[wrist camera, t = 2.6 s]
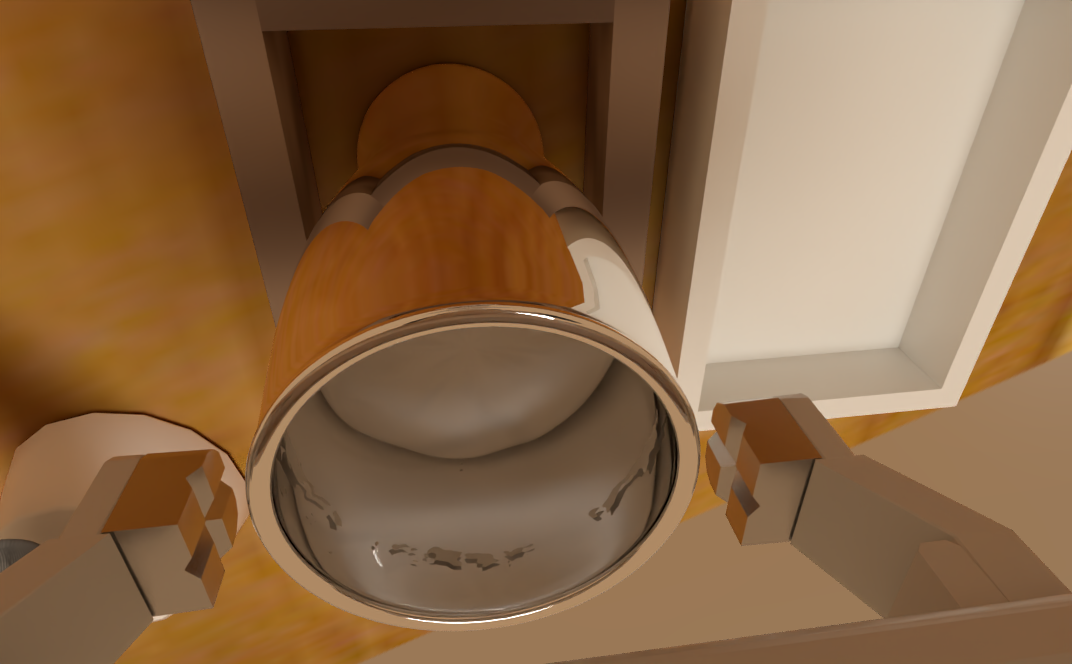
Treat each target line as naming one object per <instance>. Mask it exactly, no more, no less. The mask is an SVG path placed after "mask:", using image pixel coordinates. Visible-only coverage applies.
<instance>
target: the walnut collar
mask: <svg viewBox="0 0 1072 664" xmlns="http://www.w3.org/2000/svg"><path fill="white" fill-rule="evenodd" d="M190 1H191V5H192V9H193V12H194V16H195V20H196V24H197V28H198V32H199V35H200V39H201V43H202V47H203V51H204V54H205V58H206V62H207V66H208V70H209V74H210V77H211V81H212V85H213V89H214V93H215V96H216V100H217V104H218V108H219V112H220V116H221V119H222V123H223V127H224V131H225V135H226V138H227V142H228V146H229V150H230V154H231V158H232V161H233V165H234V169H235V173H236V177H237V181H238V184H239V188H240V192H241V196H242V200H243V203H244V207H245V211H246V215H247V219H248V223H249V226H250V230H251V234H252V238H253V242H254V245H255V249H256V253H257V257H258V261H259V265H260V268H261V272H262V276H263V280H264V284H265V287H266V291H267V295H268V299H269V303H270V307H271V310H272V314H273V318H274V322H275V326H276V328H277V324H278V320H279V317H280V313H281V310H282V306H283V303H284V299H285V296H286V292H287V289H288V286H289V283H290V280H291V277H292V275H293V272H294V270H295V268H296V265H297V263H298V261H299V258H300V256H301V254H302V251H303V249H304V247H305V244H306V242H307V240H308V238H309V236H310V234H311V232H312V230H313V228H314V226H315V225H316V223H317V222H318V220H319V219H320V217H321V216H322V210H321V205H320V200H319V195H318V190H317V185H316V179H315V174H314V169H313V164H312V159H311V154H310V148H309V143H308V138H307V133H306V128H305V123H304V118H303V112H302V107H301V102H300V97H299V92H298V87H297V81H296V76H295V71H294V66H293V61H292V56H291V50H290V45H289V40H288V35H287V31H290V30H330V29H370V28H410V27H450V26H490V25H531V24H571V23H590V34H589V60H588V86H587V111H586V137H585V162H584V188H583V194H584V195H585V196H586V197H587V198H588V199H589V200H590V201H591V203H592V204H593V205H594V206H595V207H596V209H597V210H598V211H599V213H600V214H601V215H602V217H603V219H604V220H605V222H606V223H607V225H608V226H609V228H610V229H611V231H612V233H613V234H614V236H615V237H616V239H617V240H618V242H619V244H620V245H621V247H622V248H623V250H624V252H625V254H626V255H627V257H628V259H629V261H630V264H631V266H632V268H633V270H634V272H635V274H636V276H637V278H638V280H639V282H640V284H641V286H642V283H643V273H644V263H645V253H646V243H647V232H648V222H649V212H650V202H651V192H652V182H653V172H654V162H655V152H656V141H657V131H658V121H659V111H660V101H661V91H662V81H663V71H664V61H665V50H666V40H667V30H668V20H669V10H670V0H190Z"/></svg>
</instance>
